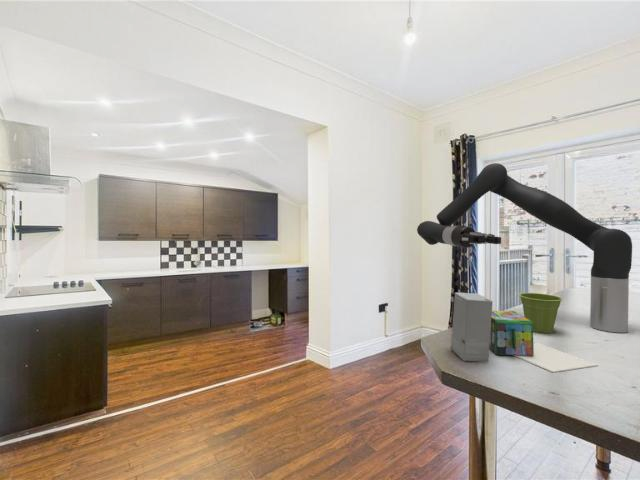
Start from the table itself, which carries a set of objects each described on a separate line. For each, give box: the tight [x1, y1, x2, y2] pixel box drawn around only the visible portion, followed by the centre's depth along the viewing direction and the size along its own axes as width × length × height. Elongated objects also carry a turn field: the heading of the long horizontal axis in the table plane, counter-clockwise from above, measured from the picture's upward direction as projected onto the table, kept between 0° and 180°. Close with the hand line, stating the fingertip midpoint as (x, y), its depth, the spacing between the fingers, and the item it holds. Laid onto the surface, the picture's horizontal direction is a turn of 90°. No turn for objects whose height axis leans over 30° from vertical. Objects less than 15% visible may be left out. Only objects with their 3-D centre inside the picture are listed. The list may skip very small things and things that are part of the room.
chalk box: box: [489, 310, 534, 356], centre depth 84 cm, size 9×9×15 cm
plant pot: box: [518, 292, 563, 334], centre depth 102 cm, size 12×12×11 cm
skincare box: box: [450, 292, 494, 363], centre depth 81 cm, size 8×7×16 cm
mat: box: [512, 342, 599, 374], centre depth 80 cm, size 16×14×1 cm
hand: (499, 240), depth 97 cm, fingers closed
